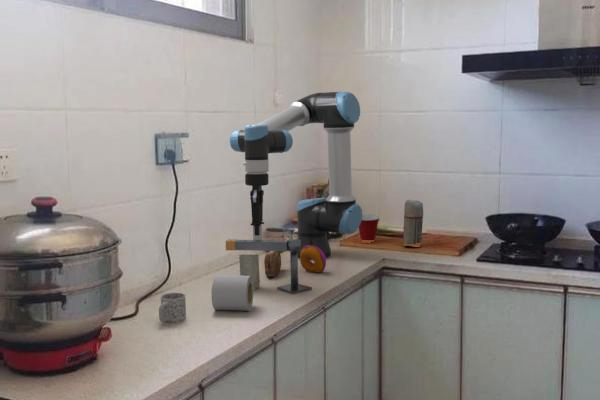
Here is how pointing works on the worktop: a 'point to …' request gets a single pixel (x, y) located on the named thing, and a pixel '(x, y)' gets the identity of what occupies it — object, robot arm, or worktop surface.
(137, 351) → the worktop surface
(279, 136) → the robot arm
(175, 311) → the mug
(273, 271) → the tin
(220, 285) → the toilet paper
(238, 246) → the bar
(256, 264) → the box
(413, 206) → the grey thermos bottle
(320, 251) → the donut
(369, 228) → the plastic cup
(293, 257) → the post
